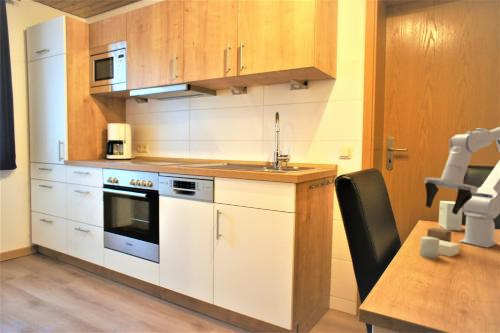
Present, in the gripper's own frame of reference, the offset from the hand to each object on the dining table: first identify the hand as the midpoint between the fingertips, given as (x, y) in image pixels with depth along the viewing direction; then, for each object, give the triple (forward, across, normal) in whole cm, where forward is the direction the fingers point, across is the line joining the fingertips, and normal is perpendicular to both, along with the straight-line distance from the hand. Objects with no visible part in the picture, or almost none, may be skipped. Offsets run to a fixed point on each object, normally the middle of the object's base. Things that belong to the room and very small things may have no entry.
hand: (440, 210), depth 100 cm
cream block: (+12, +4, 0) cm, 13 cm away
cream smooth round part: (+15, +4, -8) cm, 17 cm away
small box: (-1, -9, +37) cm, 39 cm away
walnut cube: (+10, 0, +6) cm, 12 cm away
